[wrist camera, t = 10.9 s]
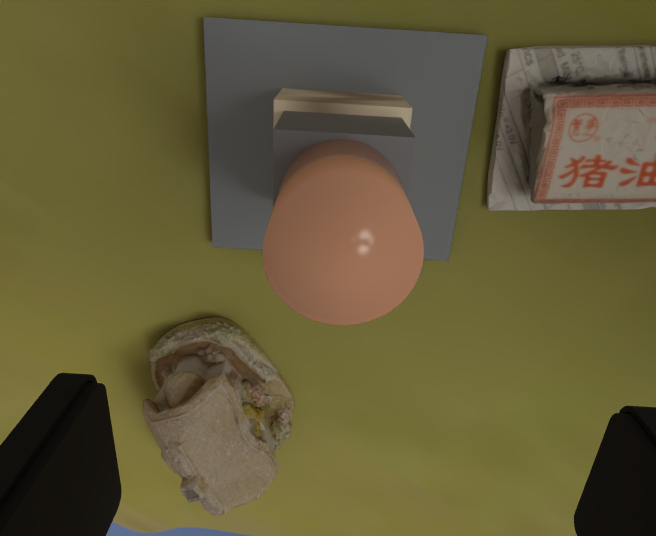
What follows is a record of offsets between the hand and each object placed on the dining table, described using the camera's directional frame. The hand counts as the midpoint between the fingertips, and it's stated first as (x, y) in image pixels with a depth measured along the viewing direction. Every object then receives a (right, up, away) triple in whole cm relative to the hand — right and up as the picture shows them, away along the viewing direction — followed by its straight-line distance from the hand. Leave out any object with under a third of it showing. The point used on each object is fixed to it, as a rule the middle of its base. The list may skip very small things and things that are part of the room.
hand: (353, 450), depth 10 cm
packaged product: (+19, +12, +23) cm, 32 cm away
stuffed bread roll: (-9, -7, +32) cm, 34 cm away
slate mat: (0, +11, +23) cm, 26 cm away
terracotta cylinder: (0, +6, +13) cm, 15 cm away
